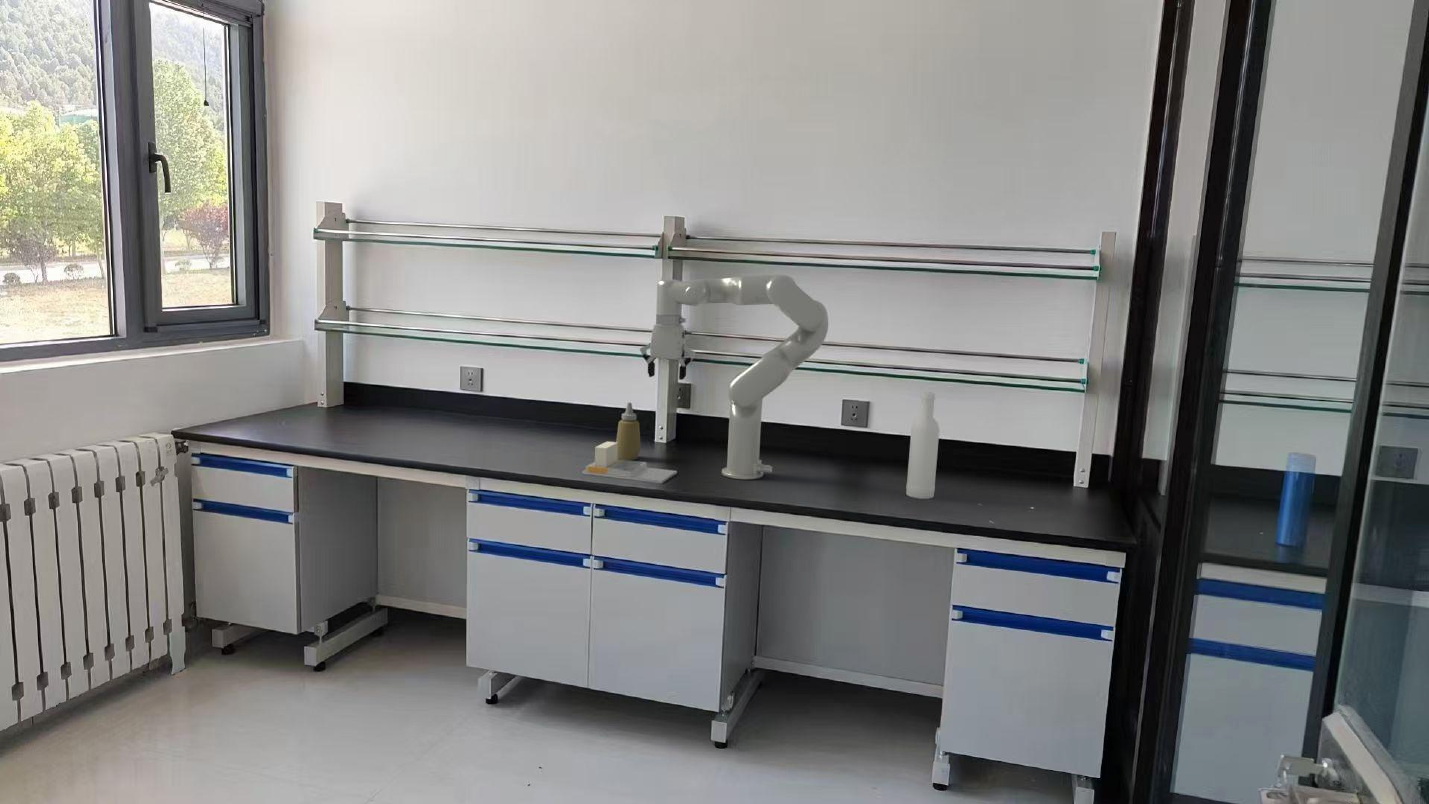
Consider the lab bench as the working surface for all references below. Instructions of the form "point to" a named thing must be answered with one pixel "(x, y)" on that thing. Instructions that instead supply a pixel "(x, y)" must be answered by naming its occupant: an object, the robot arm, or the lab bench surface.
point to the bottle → (923, 451)
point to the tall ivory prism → (606, 454)
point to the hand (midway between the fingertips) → (666, 377)
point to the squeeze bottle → (628, 435)
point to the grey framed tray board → (631, 471)
